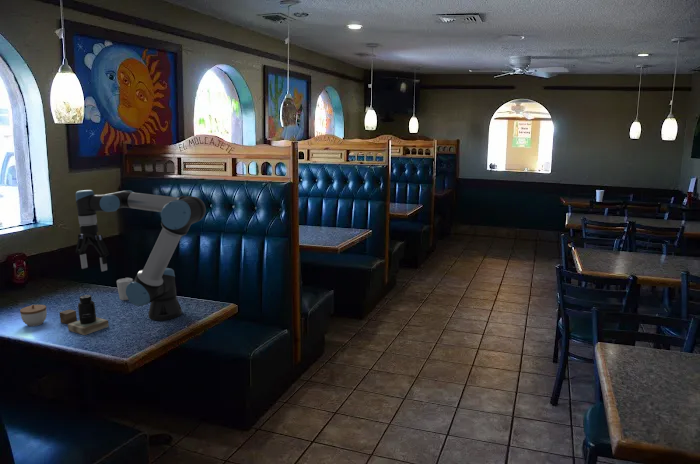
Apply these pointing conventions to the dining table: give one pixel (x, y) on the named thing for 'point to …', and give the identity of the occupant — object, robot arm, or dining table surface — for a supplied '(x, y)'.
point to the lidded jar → (34, 315)
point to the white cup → (123, 287)
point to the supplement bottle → (86, 310)
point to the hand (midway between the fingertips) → (94, 269)
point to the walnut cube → (68, 316)
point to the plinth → (88, 326)
